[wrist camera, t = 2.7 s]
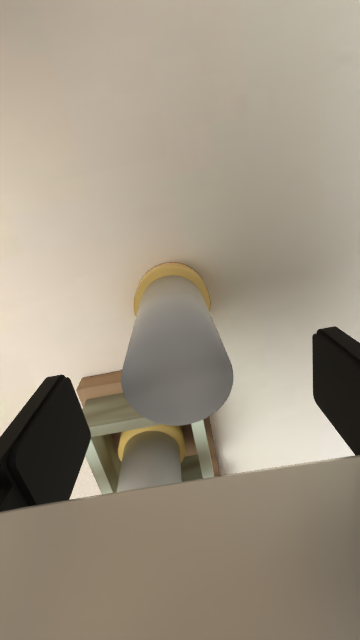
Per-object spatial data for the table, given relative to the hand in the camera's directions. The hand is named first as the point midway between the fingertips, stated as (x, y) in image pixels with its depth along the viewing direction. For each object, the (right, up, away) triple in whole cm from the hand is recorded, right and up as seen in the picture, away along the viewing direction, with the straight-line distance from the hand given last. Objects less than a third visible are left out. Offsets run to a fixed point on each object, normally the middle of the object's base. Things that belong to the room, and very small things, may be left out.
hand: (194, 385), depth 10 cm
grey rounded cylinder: (-1, +4, +9) cm, 10 cm away
